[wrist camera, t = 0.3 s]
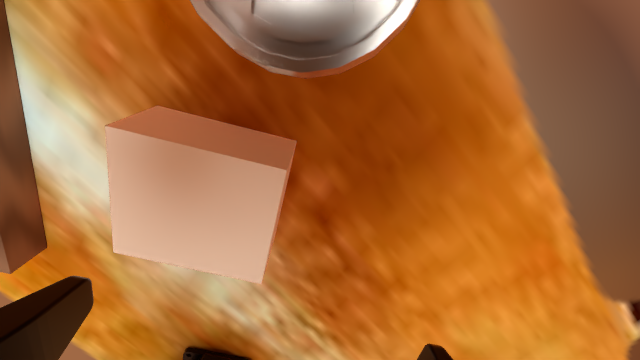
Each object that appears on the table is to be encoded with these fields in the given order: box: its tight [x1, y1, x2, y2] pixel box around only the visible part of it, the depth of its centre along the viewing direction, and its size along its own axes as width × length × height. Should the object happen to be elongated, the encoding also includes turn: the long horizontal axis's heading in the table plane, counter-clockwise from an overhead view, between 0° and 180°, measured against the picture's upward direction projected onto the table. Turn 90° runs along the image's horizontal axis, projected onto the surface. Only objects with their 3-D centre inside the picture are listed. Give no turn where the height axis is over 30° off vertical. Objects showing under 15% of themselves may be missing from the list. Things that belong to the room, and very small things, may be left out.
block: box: [105, 106, 297, 284], centre depth 19 cm, size 8×9×5 cm
